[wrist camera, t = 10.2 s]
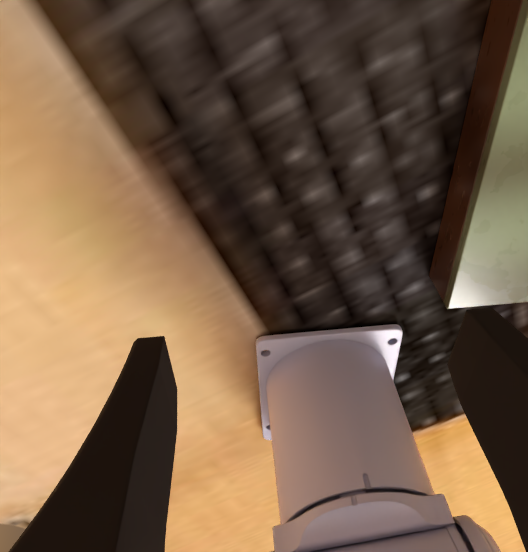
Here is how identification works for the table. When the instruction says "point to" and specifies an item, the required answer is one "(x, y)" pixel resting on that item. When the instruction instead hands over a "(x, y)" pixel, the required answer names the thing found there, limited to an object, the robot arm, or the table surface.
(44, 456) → the table surface
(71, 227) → the table surface
